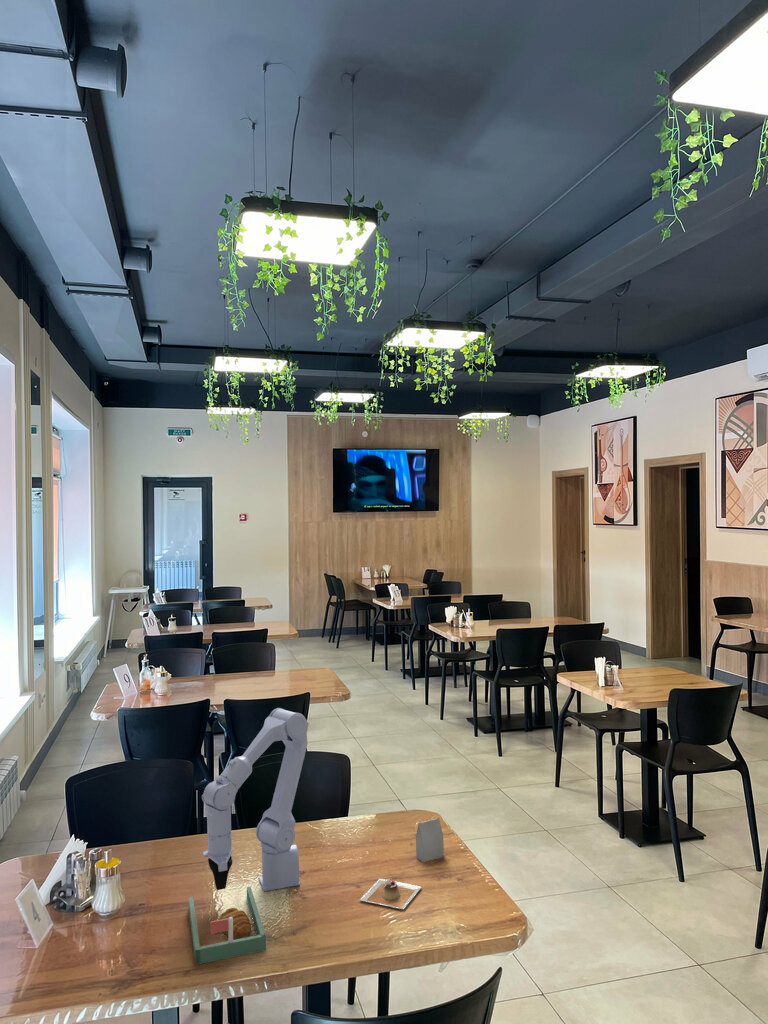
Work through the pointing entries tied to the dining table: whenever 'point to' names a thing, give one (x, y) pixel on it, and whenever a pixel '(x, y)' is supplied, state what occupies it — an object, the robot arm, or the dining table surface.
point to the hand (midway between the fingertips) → (220, 888)
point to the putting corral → (231, 946)
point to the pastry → (237, 923)
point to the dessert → (390, 891)
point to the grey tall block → (429, 840)
